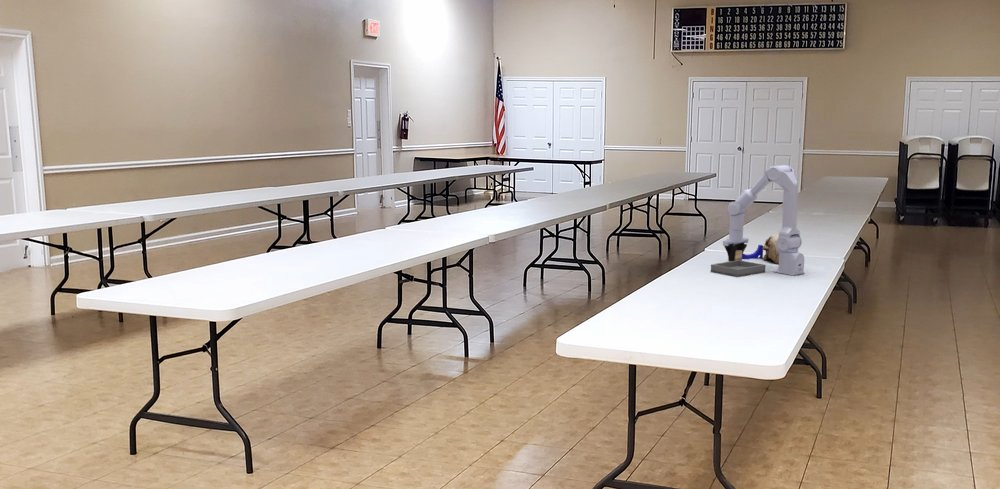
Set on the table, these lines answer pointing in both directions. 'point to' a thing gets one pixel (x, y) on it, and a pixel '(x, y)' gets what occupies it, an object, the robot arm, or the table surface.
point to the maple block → (737, 255)
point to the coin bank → (771, 249)
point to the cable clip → (755, 254)
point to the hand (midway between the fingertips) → (734, 260)
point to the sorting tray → (738, 268)
